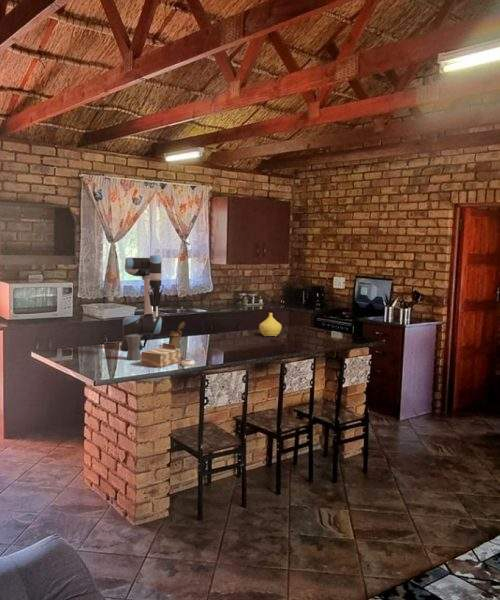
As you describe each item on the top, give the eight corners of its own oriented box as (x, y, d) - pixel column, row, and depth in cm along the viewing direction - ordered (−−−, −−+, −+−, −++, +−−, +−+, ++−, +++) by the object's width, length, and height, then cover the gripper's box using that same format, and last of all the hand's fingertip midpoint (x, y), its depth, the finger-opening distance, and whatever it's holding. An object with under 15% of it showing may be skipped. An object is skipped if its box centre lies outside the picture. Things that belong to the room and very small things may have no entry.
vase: (270, 333, 472) (271, 311, 470) (285, 336, 458) (286, 313, 456) (254, 335, 460) (254, 312, 458) (269, 338, 446) (269, 314, 444)
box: (160, 359, 354) (160, 346, 353) (180, 362, 347) (180, 349, 346) (140, 365, 336) (140, 351, 336) (160, 368, 330) (160, 354, 329)
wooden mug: (188, 346, 403) (188, 321, 401) (172, 348, 394) (172, 323, 392) (180, 344, 409) (180, 320, 408) (165, 347, 400) (165, 322, 398)
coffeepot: (121, 360, 350) (121, 332, 348) (125, 357, 359) (125, 329, 358) (146, 360, 350) (146, 332, 348) (149, 357, 359) (149, 330, 358)
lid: (161, 348, 353) (161, 342, 353) (179, 350, 347) (179, 344, 346) (142, 353, 336) (142, 347, 336) (161, 355, 330) (161, 349, 329)
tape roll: (186, 363, 345) (186, 359, 345) (197, 364, 341) (197, 360, 341) (178, 365, 338) (178, 361, 338) (189, 366, 334) (189, 362, 334)
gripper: (156, 278, 362) (156, 314, 365) (144, 280, 350) (144, 317, 353) (166, 279, 359) (165, 315, 362) (154, 280, 347) (154, 318, 350)
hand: (155, 316), depth 357 cm, fingers closed
